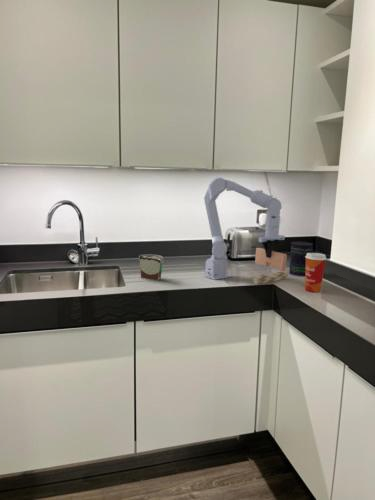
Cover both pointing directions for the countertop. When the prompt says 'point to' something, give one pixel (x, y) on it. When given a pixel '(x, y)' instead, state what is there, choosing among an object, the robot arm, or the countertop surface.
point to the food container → (151, 266)
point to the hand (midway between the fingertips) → (270, 257)
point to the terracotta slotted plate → (271, 259)
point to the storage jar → (299, 257)
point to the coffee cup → (314, 271)
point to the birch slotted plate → (268, 277)
